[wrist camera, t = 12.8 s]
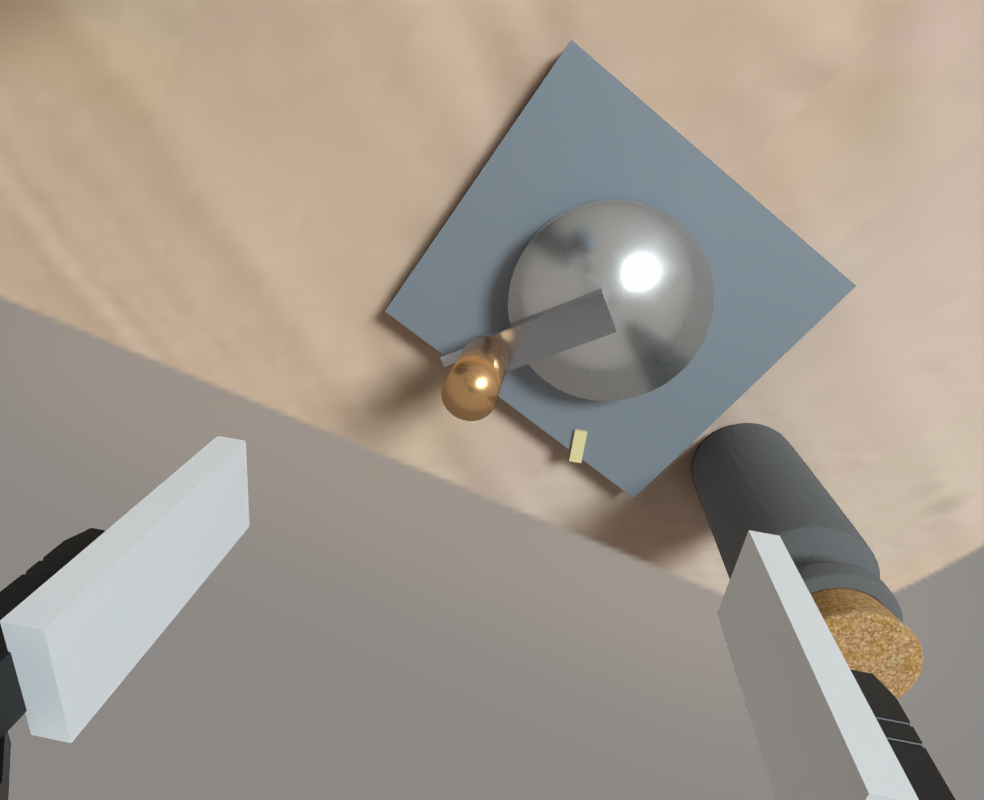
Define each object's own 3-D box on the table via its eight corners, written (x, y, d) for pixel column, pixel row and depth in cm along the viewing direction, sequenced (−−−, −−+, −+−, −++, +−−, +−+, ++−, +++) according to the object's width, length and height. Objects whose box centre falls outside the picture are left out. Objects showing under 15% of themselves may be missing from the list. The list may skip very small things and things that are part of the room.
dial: (454, 340, 33) (420, 390, 26) (595, 154, 28) (602, 152, 21) (594, 447, 34) (599, 523, 27) (751, 284, 30) (806, 323, 23)
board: (388, 311, 35) (379, 319, 33) (571, 45, 28) (571, 39, 27) (626, 490, 37) (628, 505, 35) (843, 280, 31) (857, 286, 29)
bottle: (779, 515, 36) (908, 737, 22) (681, 502, 37) (748, 711, 23) (807, 428, 34) (970, 615, 20) (702, 415, 34) (791, 589, 21)
